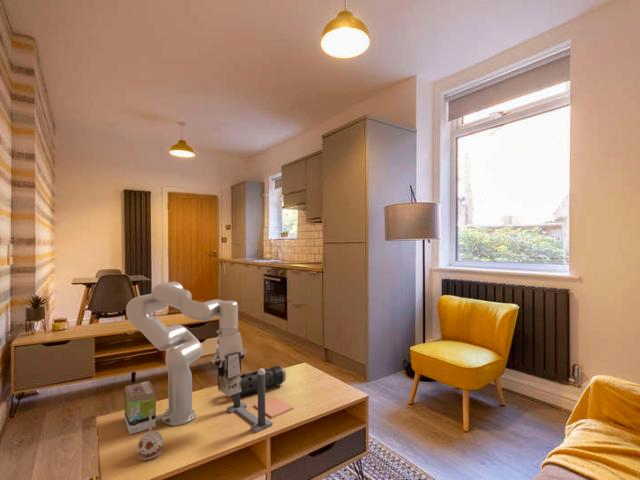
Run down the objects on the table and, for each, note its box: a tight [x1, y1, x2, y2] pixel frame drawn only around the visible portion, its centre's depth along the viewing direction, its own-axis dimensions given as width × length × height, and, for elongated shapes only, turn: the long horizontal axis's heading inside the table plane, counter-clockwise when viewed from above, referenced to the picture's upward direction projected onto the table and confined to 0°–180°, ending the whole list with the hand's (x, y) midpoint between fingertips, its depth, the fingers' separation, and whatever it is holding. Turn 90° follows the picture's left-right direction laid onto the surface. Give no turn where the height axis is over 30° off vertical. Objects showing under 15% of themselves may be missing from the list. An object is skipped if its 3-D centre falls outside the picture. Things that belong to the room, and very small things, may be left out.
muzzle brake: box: [231, 365, 287, 397], centre depth 171 cm, size 10×28×10 cm, turn 124°
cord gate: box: [226, 367, 274, 434], centre depth 144 cm, size 8×25×24 cm, turn 42°
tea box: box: [124, 380, 157, 435], centre depth 141 cm, size 15×10×15 cm, turn 37°
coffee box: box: [216, 352, 242, 397], centre depth 138 cm, size 9×6×16 cm
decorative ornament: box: [136, 413, 163, 461], centre depth 119 cm, size 8×8×15 cm
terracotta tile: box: [253, 396, 295, 419], centre depth 153 cm, size 12×15×1 cm
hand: (229, 373), depth 138 cm, fingers closed on coffee box, 6 cm apart
